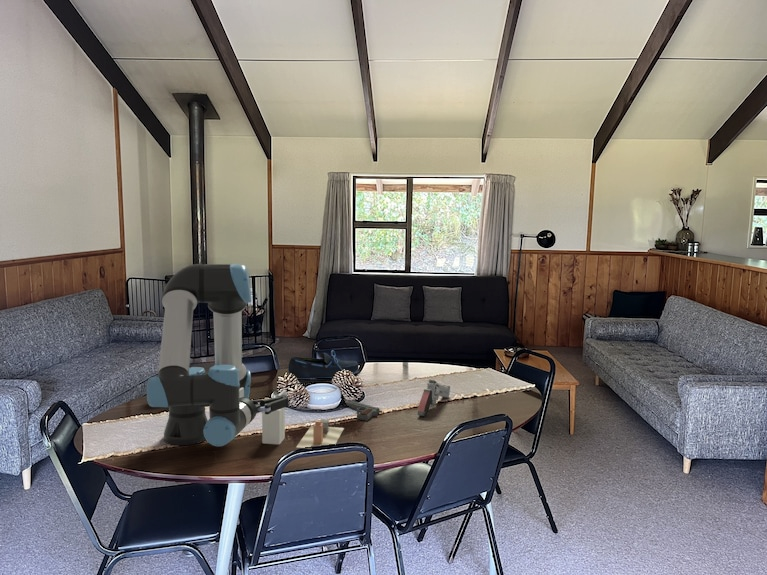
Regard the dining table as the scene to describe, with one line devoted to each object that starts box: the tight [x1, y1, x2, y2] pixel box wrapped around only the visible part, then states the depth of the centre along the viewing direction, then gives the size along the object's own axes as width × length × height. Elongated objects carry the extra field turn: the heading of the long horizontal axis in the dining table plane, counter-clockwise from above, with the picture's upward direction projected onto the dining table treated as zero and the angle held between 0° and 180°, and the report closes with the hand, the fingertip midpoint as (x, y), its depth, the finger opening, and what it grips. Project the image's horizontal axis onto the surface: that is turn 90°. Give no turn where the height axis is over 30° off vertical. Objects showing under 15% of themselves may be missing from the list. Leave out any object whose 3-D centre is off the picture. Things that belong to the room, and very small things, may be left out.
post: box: [312, 419, 323, 444], centre depth 189 cm, size 3×3×7 cm
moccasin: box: [287, 349, 359, 380], centre depth 275 cm, size 14×34×12 cm, turn 117°
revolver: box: [417, 379, 451, 417], centre depth 233 cm, size 4×29×15 cm, turn 155°
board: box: [296, 419, 345, 449], centre depth 194 cm, size 20×12×5 cm, turn 173°
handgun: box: [345, 400, 383, 422], centre depth 224 cm, size 3×18×12 cm
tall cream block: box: [261, 407, 286, 445], centre depth 190 cm, size 6×6×13 cm
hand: (263, 392), depth 179 cm, fingers open, 13 cm apart
